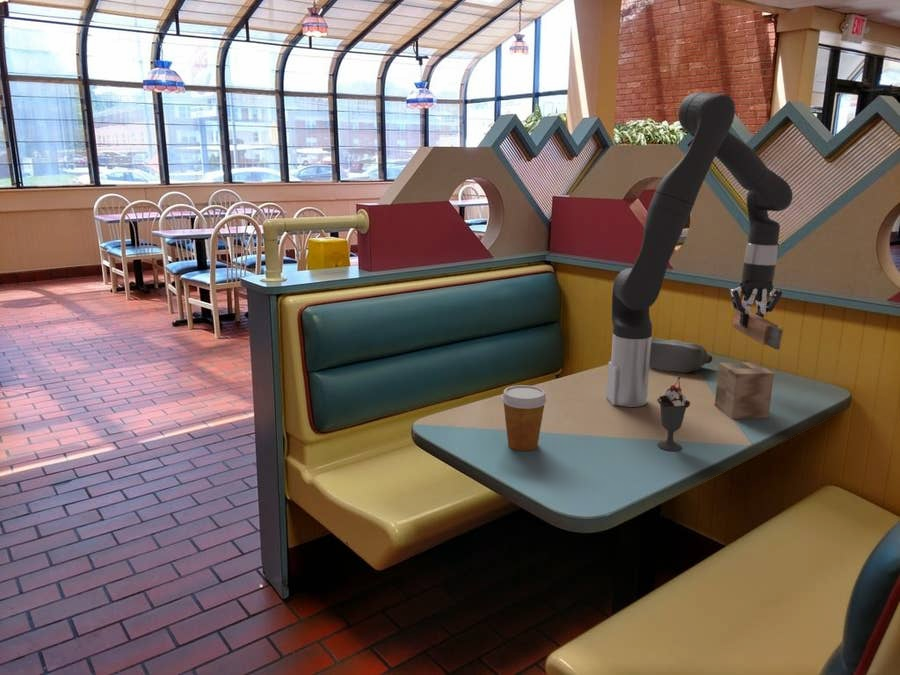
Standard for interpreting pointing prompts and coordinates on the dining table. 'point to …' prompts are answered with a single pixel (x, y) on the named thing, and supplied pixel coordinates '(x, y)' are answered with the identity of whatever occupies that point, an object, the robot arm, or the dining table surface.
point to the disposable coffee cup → (523, 415)
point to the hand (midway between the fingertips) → (750, 326)
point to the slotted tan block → (744, 390)
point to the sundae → (672, 415)
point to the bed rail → (760, 330)
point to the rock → (677, 355)
